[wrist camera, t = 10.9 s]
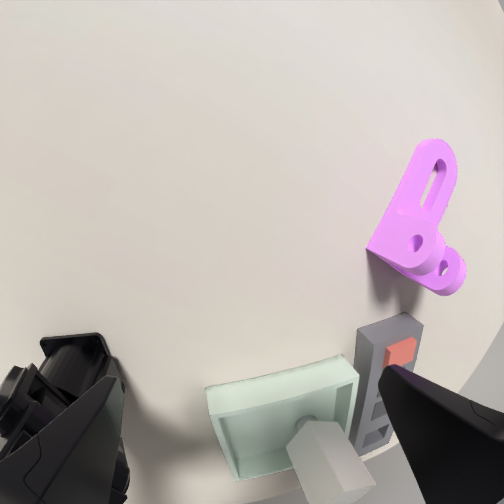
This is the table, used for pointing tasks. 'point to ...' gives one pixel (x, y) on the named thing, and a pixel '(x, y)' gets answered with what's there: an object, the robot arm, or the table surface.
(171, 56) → the table surface
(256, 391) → the tray
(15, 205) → the table surface
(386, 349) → the power strip
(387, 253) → the bracket
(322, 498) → the white long block
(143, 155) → the table surface
